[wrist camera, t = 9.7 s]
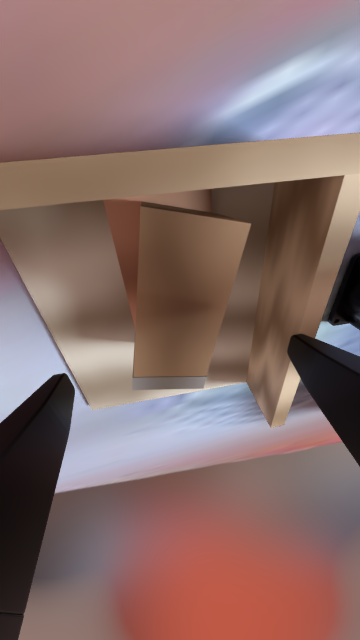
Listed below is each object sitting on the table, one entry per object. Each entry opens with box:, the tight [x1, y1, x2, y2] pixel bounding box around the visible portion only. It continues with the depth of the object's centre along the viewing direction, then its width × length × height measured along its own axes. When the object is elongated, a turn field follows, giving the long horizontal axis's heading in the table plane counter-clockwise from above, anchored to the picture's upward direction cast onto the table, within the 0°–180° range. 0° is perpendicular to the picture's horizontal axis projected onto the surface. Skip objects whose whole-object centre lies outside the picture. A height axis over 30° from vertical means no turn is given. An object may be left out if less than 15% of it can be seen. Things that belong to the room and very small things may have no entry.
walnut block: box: [132, 201, 251, 390], centre depth 12 cm, size 5×10×5 cm, turn 171°
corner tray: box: [0, 133, 360, 428], centre depth 14 cm, size 19×17×6 cm
